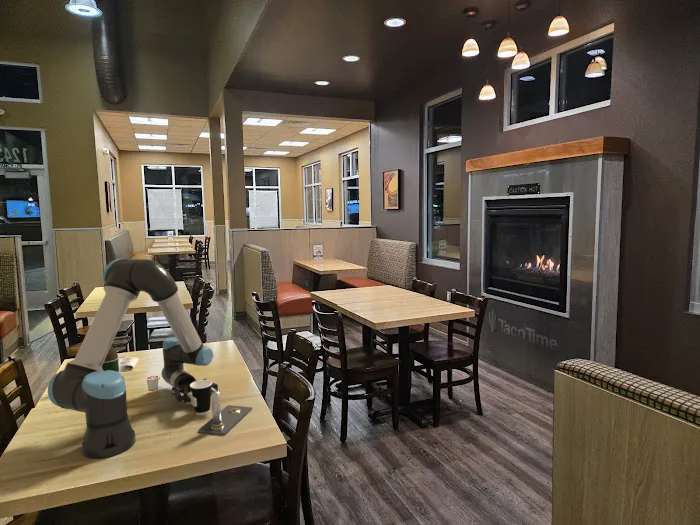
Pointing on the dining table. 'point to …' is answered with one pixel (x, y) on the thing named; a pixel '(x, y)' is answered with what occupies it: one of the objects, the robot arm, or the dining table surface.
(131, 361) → the folded newspaper
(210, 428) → the plate
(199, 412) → the dixie cup
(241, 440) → the dining table surface
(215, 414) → the post
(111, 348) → the beer bottle
